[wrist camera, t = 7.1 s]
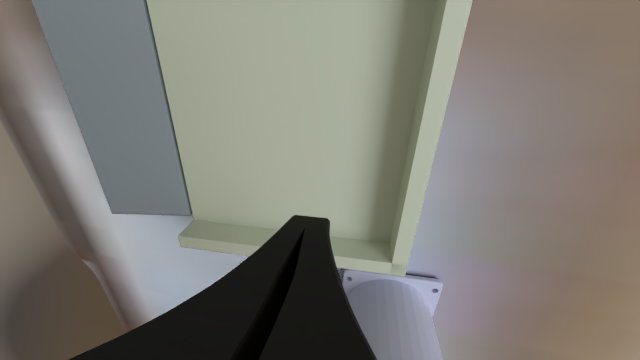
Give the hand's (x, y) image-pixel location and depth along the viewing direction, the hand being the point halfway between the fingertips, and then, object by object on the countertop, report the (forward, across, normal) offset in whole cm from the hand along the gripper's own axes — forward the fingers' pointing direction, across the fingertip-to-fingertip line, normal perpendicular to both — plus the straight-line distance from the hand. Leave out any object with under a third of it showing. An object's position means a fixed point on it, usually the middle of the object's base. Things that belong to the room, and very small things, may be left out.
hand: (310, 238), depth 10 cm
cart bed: (+9, +2, -2) cm, 10 cm away
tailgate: (+8, +10, -2) cm, 13 cm away
